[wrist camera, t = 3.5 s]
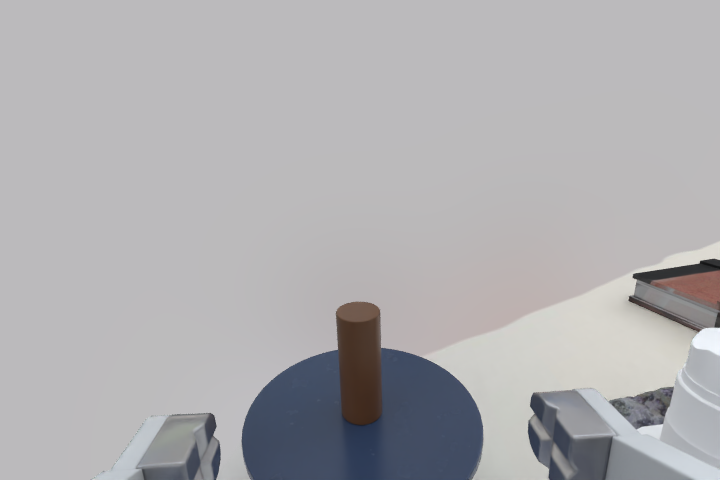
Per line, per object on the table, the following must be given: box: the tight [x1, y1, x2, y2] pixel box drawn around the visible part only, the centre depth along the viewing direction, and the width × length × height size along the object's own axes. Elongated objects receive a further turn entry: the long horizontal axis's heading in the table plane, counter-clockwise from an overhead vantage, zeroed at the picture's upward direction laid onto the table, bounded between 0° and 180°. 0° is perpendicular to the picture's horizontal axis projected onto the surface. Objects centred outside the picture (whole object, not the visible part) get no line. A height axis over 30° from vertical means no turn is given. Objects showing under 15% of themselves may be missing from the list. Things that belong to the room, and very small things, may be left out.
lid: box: [242, 302, 483, 480], centre depth 23 cm, size 15×15×8 cm
